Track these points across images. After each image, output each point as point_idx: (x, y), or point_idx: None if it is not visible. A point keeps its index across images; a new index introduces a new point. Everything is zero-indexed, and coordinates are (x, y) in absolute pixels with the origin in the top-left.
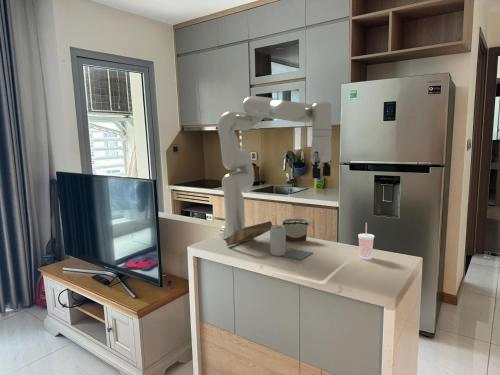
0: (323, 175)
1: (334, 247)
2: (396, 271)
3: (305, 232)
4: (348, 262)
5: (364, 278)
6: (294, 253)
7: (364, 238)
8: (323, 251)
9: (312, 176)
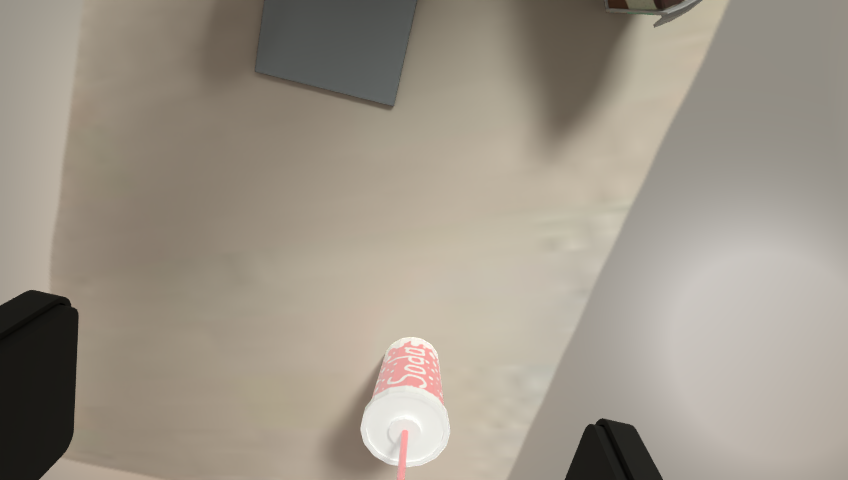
0: (587, 434)
1: (539, 204)
2: (278, 468)
3: (630, 1)
4: (313, 297)
5: (151, 369)
6: (336, 2)
7: (363, 420)
8: (446, 157)
9: (8, 301)
